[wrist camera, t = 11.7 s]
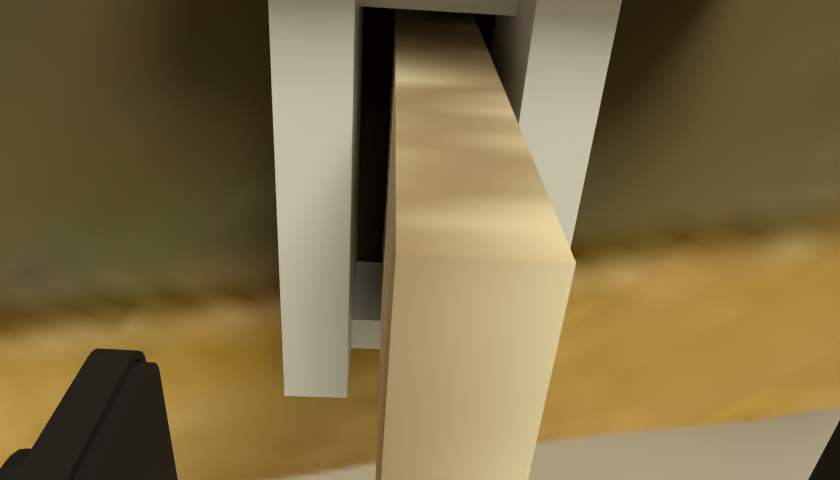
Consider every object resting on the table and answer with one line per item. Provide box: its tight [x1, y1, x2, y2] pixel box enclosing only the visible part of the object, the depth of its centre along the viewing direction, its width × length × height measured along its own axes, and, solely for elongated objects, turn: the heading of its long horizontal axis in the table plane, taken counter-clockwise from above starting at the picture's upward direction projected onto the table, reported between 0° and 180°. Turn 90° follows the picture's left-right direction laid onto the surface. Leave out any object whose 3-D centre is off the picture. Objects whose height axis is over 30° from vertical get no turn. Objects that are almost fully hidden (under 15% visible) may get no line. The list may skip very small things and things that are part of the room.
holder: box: [268, 0, 622, 398], centre depth 18 cm, size 7×10×5 cm, turn 176°
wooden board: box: [376, 8, 576, 480], centre depth 15 cm, size 2×7×12 cm, turn 176°
